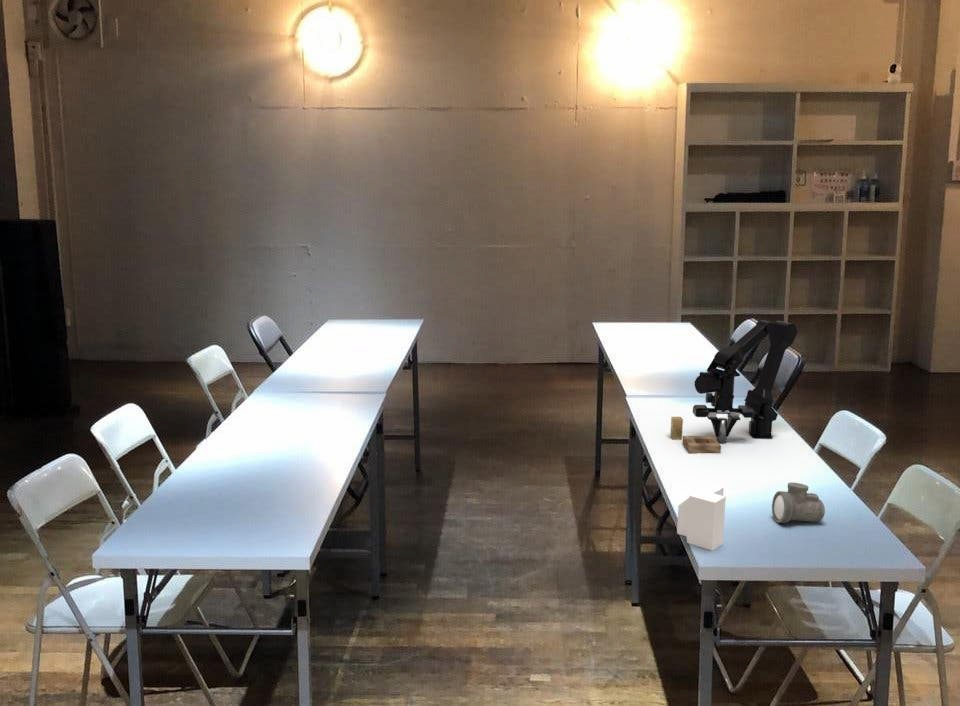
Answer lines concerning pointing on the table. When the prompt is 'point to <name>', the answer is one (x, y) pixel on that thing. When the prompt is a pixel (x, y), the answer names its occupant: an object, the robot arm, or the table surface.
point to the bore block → (701, 444)
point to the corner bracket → (703, 517)
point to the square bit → (676, 428)
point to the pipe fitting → (797, 505)
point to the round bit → (722, 430)
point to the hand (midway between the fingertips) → (721, 436)
